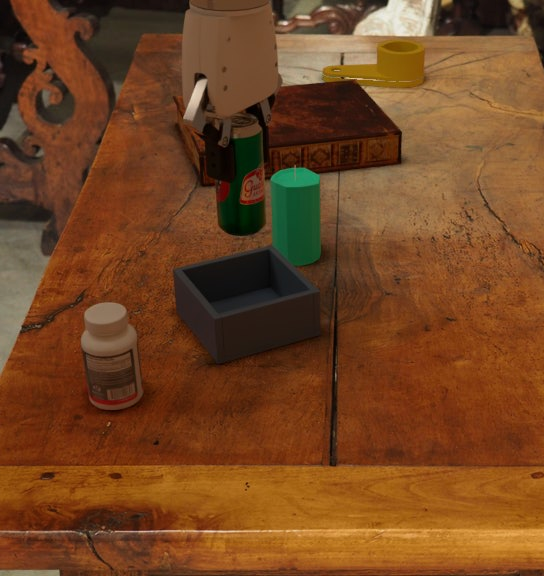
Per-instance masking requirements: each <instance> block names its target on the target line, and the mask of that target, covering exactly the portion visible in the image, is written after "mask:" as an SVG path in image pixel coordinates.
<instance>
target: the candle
mask: <svg viewBox="0 0 544 576" xmlns="http://www.w3.org/2000/svg"><path fill="white" fill-rule="evenodd" d="M294 166H295V168H289V169H284V170H280V171H278V172H277V173H275V174H274V175H272V177H271V178H270V181H269V183H270V207H271V237H272V245H273V246H274V247H275V248H276V249H277V250H278V251H279V252H280V253H281V254H282V255H283V256H284V257H285V258H286V259H287V260H288V261H289V262H290V263H292V264H293V265H294V266H295V267H297V266H298V267H302V266H306V265H310V264H314V263H315V262H316V261H318V260H320V259H321V255H322V230H321V229H322V225H321V224H322V223H321V221H322V219H321V217H322V216H321V215H322V214H321V211H322V210H321V175H320V174H319V173H314V172H312V171H310V170H308V169H306V168H296V165H294Z"/></svg>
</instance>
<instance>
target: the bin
mask: <svg viewBox="0 0 544 576" xmlns="http://www.w3.org/2000/svg"><path fill="white" fill-rule="evenodd" d="M172 277H173V286H174V287H173V288H174V299H175V310H176V313H177V314H178V316H179V317H180V318H181V319H182V321H183V322H184V323H185V325H186V326H187V327H188V329H189V330H190V331H191V332H192V334H193V335H194V336H195V338H196V339H197V340H198V341H199V343H200V344H201V345H202V346H203V348H204V349H205V350H206V351H207V353H208V354H209V355H210V356H211V358H212V359H213V361H215V363H216V364H217V365H221V364H225V363H228V362H232V361H235V360H238V359H243V358H246V357H249V356H253V355H256V354H260V353H263V352H267V351H270V350H273V349H277V348H280V347H283V346H284V347H285V346H287V345H290V344H295V343H298V342H301V341H305V340H309V339H312V338H315V337H320V336H321V335H322V334H321V327H322V326H321V291H320V289H319V288H317V287H316V286H315V284H314V283H313V282H311V280H309V278H308V277H306V276H305V275H304V273H302V272H301V271H300V270H299V269H298V268H297V266H294V265H293V264H292V263H290V262H289V261H288V260H287V259H286V258H285V257H284V256H283V255H282V254H281V253H280V252H279V251H278V250H277V249H276V248H275V247H274V246H273V244H269V245H267V246H261V247H258V248H253V249H250V250H246V251H241V252H238V253H234V254H229V255H225V256H221V257H217V258H212V259H208V260H204V261H200V262H196V263H195V262H194V263H191V264H187V265H184V266H183V265H182V266H180V267H175V268H172Z"/></svg>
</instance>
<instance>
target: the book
mask: <svg viewBox="0 0 544 576" xmlns="http://www.w3.org/2000/svg"><path fill="white" fill-rule="evenodd" d="M172 100H173V102H174V104H175V106H176V117H177V118H176V119H177V123H176V122H175V123H174V126H175V127H174V128H175V129H176V131H177V134H178V136H179V138H180V140H181V143H182V145H183V147H184V150H185V152H186V155H187V157H188V159H189V162H190V163H191V166H192V168H193V171H194V173H195V175H196V178H197V180H198V182H199V184H200V186H201V187H208V186H215V179H213V178H210V177H208V176H207V171H206V157H205V142H201V141H200V137H199V136H198V135H197V134H195V133H194V131H192V130H191V129H189V128H188V127H186V126H185V125H184V124H183V117H184V115H185V112H186V108H185V106H184V101H183V94H181V95H180V94H179V95H172ZM213 110H215V106H214V107H213ZM240 112H241V113H243V112H242V111H240ZM271 115H272V120H271V122H270V124H268V125H267V124H266V126H268V128H269V154H270V160H269V161H268V162H266V163H264V178H265V180H269V179H271V177H272V175H274V174H275V173H277V172H278V171H280V170H284V169H289V168H295V166H294V165H296V168H306V169H308V170H310V171H312V172H314V173H316V174H320V173H328V172H337V171H347V170H355V169H363V168H373V167H381V166H391V165H399V164H402V149H403V147H402V146H403V145H402V144H403V143H402V141H403V131H402V130H401V129H400V127H398V125H397V124H396V123H395V122H394V121H393V120H392V119H391V118H390V117H389V116H388V114H387V113H386V112H385V111H384V109H382V108H381V106H379V104H378V103H377V102H376V101H375V100H374V98H373V97H372V96H370V95H369V93H367V91H366V90H365V89H364V88H363V87H362V85H359V84H358V83H357V81H356V80H345V81H334V82H325V81H324V82H314V83H312V82H311V83H302V84H291V85H281V87H280V89H279V91H278V93H277V95H276V96H275V102H274V105H273V107H272V109H271ZM214 125H215V118H213V126H214Z"/></svg>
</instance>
